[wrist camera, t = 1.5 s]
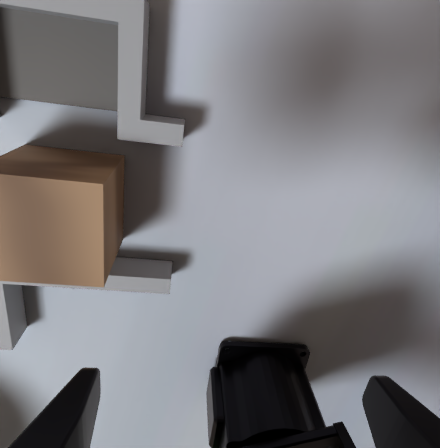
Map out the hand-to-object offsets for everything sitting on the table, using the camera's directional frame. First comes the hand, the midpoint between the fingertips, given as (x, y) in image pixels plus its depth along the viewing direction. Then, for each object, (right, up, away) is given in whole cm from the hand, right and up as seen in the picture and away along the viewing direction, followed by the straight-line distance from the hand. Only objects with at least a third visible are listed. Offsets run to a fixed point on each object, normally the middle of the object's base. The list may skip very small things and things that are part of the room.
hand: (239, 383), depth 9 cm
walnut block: (-8, +6, +10) cm, 14 cm away
